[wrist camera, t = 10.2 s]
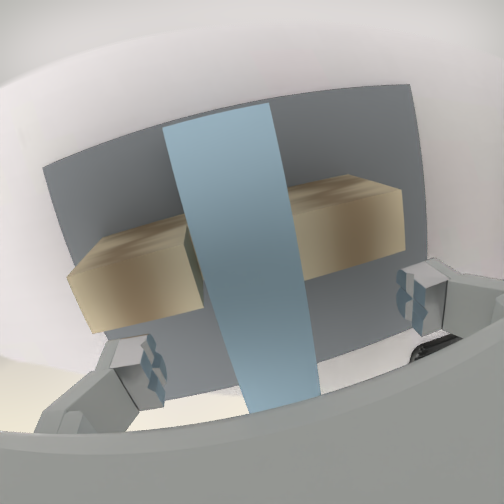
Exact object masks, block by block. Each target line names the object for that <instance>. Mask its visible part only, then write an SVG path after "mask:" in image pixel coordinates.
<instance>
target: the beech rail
mask: <svg viewBox="0 0 504 504" xmlns="http://www.w3.org/2000/svg"><path fill="white" fill-rule="evenodd" d="M287 190H288V195H289V200H290V205H291V210H292V216H293V221H294V226H295V232H296V237H297V243H298V248H299V254H300V260H301V265H302V271H303V277H304V281H305V280H309V279H312V278H316V277H319V276H323V275H326V274H330V273H333V272H336V271H340V270H343V269H346V268H350V267H353V266H356V265H360V264H363V263H366V262H369V261H373V260H376V259H379V258H382V257H385V256H389V255H392V254H395V253H398V252H401V251H404V250H405V228H404V213H403V200H402V190H401V189H397V188H394V187H391V186H387V185H384V184H381V183H377V182H374V181H370V180H367V179H363V178H360V177H356V176H352V175H349V174H347V175H342V176H337V177H332V178H328V179H323V180H318V181H314V182H309V183H305V184H300V185H296V186H292V187H287ZM66 278H67V280H68V282H69V285H70V287H71V289H72V292H73V294H74V296H75V298H76V300H77V303H78V305H79V307H80V309H81V311H82V313H83V315H84V318H85V320H86V322H87V324H88V326H89V328H90V330H91V332H92V334H95V333H99V332H104V331H108V330H113V329H117V328H122V327H126V326H131V325H135V324H139V323H144V322H148V321H152V320H156V319H161V318H165V317H169V316H173V315H177V314H181V313H185V312H189V311H193V310H197V309H201V308H204V295H203V280H204V278H203V274H202V271H201V268H200V265H199V261H198V258H197V255H196V251H195V248H194V245H193V241H192V238H191V234H190V231H189V227H188V224H187V220H186V217H185V214H181V215H177V216H174V217H170V218H167V219H163V220H160V221H156V222H153V223H149V224H146V225H142V226H139V227H136V228H132V229H129V230H126V231H122V232H119V233H116V234H112V235H109V236H106V237H103V238H102V239H101V240H100V241H99V242H98V243H97V244H96V245H95V246H94V247H93V248H92V249H91V250H90V251H89V252H88V254H87V255H86V256H85V257H84V258H83V259H82V260H81V261H80V262H79V263H78V265H77V266H76V267H75V268H74V269H73V270H72V271H71V272H70V274H69V275H68V276H67V277H66Z"/></svg>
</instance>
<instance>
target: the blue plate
mask: <svg viewBox="0 0 504 504" xmlns="http://www.w3.org/2000/svg"><path fill="white" fill-rule="evenodd" d="M162 129H163V133H164V137H165V142H166V146H167V149H168V153H169V157H170V161H171V165H172V169H173V173H174V177H175V180H176V184H177V188H178V191H179V195H180V199H181V202H182V206H183V210H184V213H185V217H186V220H187V224H188V227H189V231H190V234H191V238H192V241H193V245H194V248H195V251H196V255H197V258H198V261H199V265H200V268H201V271H202V274H203V278H204V281H205V284H206V287H207V291H208V294H209V297H210V300H211V303H212V306H213V309H214V313H215V316H216V319H217V322H218V325H219V328H220V331H221V334H222V337H223V340H224V343H225V346H226V349H227V352H228V355H229V357H230V360H231V363H232V366H233V369H234V372H235V375H236V378H237V380H238V383H239V386H240V389H241V392H242V394H243V397H244V400H245V402H246V405H247V408H248V411H249V413H255V412H259V411H263V410H268V409H272V408H276V407H280V406H284V405H288V404H291V403H295V402H299V401H302V400H306V399H309V398H313V397H316V396H320V395H321V392H320V384H319V376H318V369H317V362H316V355H315V348H314V341H313V334H312V327H311V321H310V314H309V308H308V301H307V295H306V289H305V283H304V277H303V271H302V265H301V260H300V254H299V248H298V243H297V237H296V232H295V226H294V221H293V216H292V210H291V205H290V200H289V195H288V190H287V185H286V180H285V175H284V170H283V165H282V160H281V156H280V151H279V146H278V141H277V137H276V132H275V128H274V123H273V119H272V114H271V110H270V106H269V103H264V104H259V105H254V106H249V107H244V108H239V109H234V110H229V111H225V112H221V113H216V114H212V115H208V116H204V117H200V118H196V119H192V120H188V121H184V122H181V123H177V124H173V125H170V126H166V127H163V128H162Z"/></svg>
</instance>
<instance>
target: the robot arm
mask: <svg viewBox="0 0 504 504" xmlns="http://www.w3.org/2000/svg"><path fill="white" fill-rule="evenodd" d="M396 283H397V284H398V285H399V286H400V288H399V290H398V292H397V294H396V303H397V307H398V310H399V312H400V314H401V315H402V317H403V318H404V319H406V320H409V321H412V327H413V328H414V329H415V330H416V331H417V332H418V333H419V335H420V336H421V337H423V336H425V335H428V334H431V333H433V332H436V331H438V330H441V329H442V330H444V331H446V332H449V333H451V334H454V335H456V336H459V337H461V338H464V339H462V340H460V341H458V342H456V343H454V344H452V345H449V346H447V347H445V348H443V349H441V350H439V351H437V352H434V353H432V354H430V355H428V356H426V357H423V358H421V359H419V360H416V361H414V362H412V363H409V364H407V365H404V366H402V367H400V368H397V369H395V370H392V371H389V372H387V373H384V374H382V375H379V376H376V377H374V378H371V379H368V380H365V381H363V382H360V383H357V384H354V385H351V386H348V387H345V388H342V389H339V390H336V391H333V392H329V393H326V394H323V395H320V396H316V397H313V398H309V399H306V400H302V401H299V402H295V403H291V404H288V405H284V406H280V407H276V408H272V409H268V410H263V411H259V412H255V413H250V414H245V415H241V416H236V417H231V418H226V419H221V420H215V421H209V422H203V423H197V424H190V425H184V426H176V427H169V428H160V429H151V430H141V431H130V432H125V431H126V430H127V429H128V427H129V426H130V425H131V423H132V422H133V420H134V419H135V418H136V416H137V415H138V414H139V411H143V410H150V409H156V408H162V407H164V401H165V394H166V392H165V390H164V388H163V386H164V385H165V384H166V383H167V369H166V365H165V362H164V360H163V357H162V355H160V354H159V353H157V352H156V351H155V350H156V345H157V344H156V342H155V340H154V338H153V336H152V335H151V334H144V335H138V336H133V337H127V338H122V339H121V338H120V339H115V340H110V341H107V342H106V344H105V346H104V349H103V351H102V354H101V356H100V358H99V361H98V363H97V366H96V368H95V371H91V372H89V373H88V374H87V375H86V376H84V377H83V378H82V379H81V380H80V381H78V382H77V383H76V384H75V385H74V386H72V387H71V388H70V389H69V390H68V391H67V392H65V393H64V394H63V395H62V396H60V397H59V398H58V399H57V400H56V401H54V402H53V403H52V404H51V405H50V406H49V407H47V408H46V409H45V410H44V411H43V412H42V414H41V417H40V419H39V421H38V424H37V426H36V428H35V431H34V433H21V432H8V431H0V504H504V280H501V279H495V278H489V277H483V276H477V275H471V274H463V275H462V274H460V273H459V272H457V271H456V270H454V269H453V268H451V267H450V266H448V265H446V264H445V263H443V262H442V261H440V260H439V259H437V258H431V259H429V260H426V261H423V262H421V263H418V264H415V265H412V266H409V267H407V268H404V269H401V270H398V272H397V275H396Z"/></svg>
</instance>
